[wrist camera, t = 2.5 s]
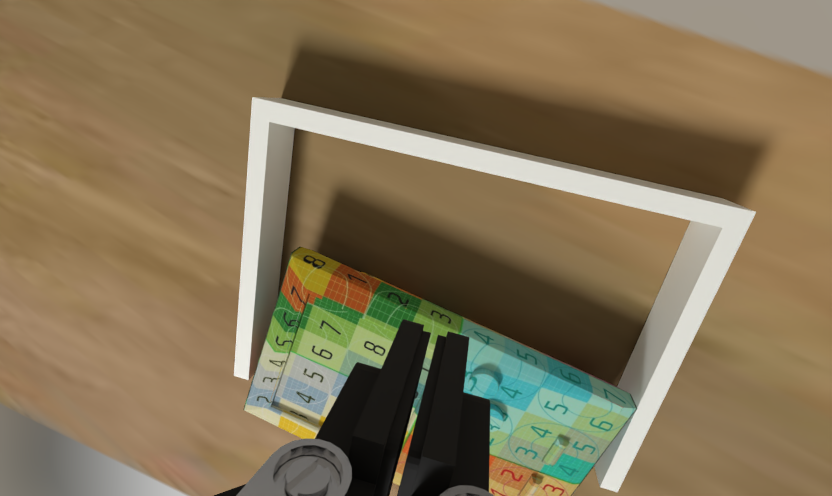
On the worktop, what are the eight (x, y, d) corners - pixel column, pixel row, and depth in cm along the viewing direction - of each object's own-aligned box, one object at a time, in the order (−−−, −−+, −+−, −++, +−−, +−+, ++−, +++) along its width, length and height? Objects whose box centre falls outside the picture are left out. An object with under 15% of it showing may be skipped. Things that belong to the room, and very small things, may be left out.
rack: (723, 198, 22) (756, 212, 19) (605, 453, 28) (617, 492, 25) (280, 98, 24) (252, 96, 21) (258, 350, 30) (233, 375, 27)
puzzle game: (534, 561, 26) (234, 419, 27) (529, 495, 30) (272, 375, 31) (642, 421, 22) (283, 258, 22) (618, 367, 26) (318, 233, 27)
